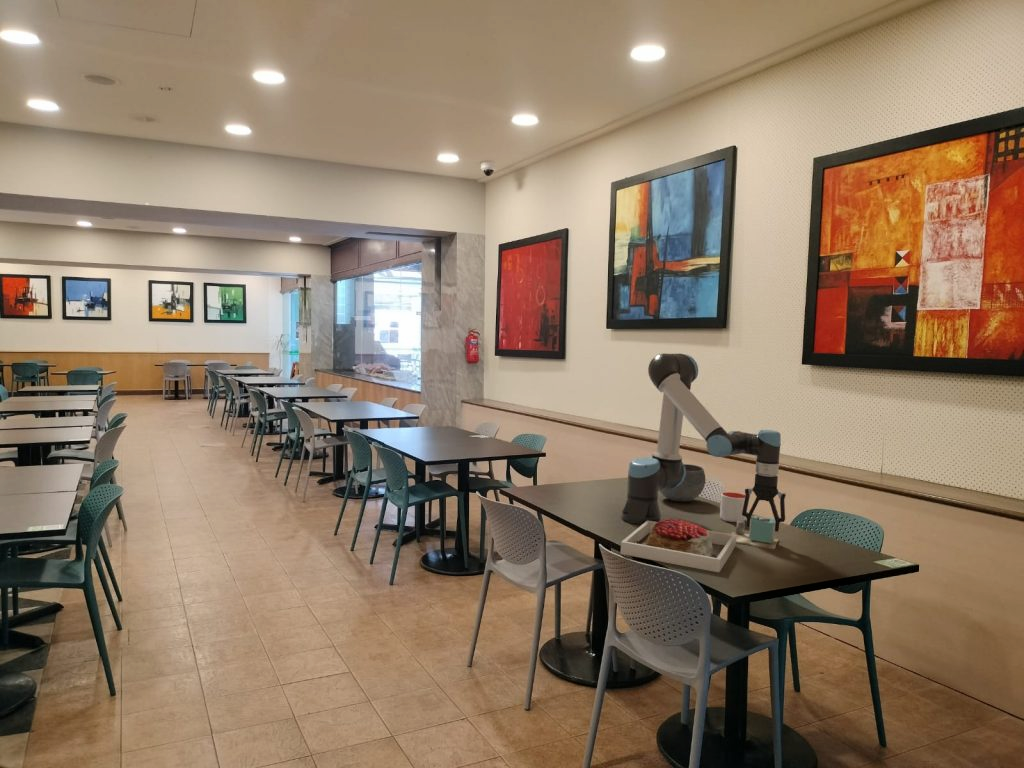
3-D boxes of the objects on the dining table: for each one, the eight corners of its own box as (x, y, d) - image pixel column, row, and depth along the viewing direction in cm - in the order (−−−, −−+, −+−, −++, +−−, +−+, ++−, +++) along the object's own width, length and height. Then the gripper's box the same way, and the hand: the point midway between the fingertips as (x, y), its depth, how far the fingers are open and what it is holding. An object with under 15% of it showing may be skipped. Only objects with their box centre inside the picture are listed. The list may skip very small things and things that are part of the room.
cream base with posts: (726, 541, 250) (728, 517, 249) (732, 533, 260) (733, 510, 260) (774, 549, 243) (776, 525, 242) (778, 540, 253) (780, 517, 253)
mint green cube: (749, 539, 249) (751, 520, 248) (752, 534, 255) (754, 515, 254) (770, 543, 245) (772, 523, 245) (773, 538, 252) (774, 519, 251)
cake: (628, 542, 244) (630, 513, 243) (695, 542, 248) (697, 514, 247) (651, 564, 221) (653, 533, 221) (724, 564, 225) (727, 533, 224)
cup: (747, 524, 274) (749, 499, 273) (720, 522, 276) (722, 496, 275) (744, 518, 284) (746, 493, 283) (718, 515, 285) (720, 491, 285)
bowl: (709, 499, 312) (712, 466, 311) (694, 509, 294) (697, 473, 293) (664, 492, 323) (666, 459, 322) (647, 500, 306) (649, 466, 304)
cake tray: (620, 553, 230) (621, 541, 230) (646, 531, 258) (647, 520, 258) (719, 572, 216) (720, 559, 216) (735, 546, 244) (736, 535, 244)
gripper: (735, 472, 249) (731, 535, 251) (796, 480, 241) (790, 545, 242) (739, 468, 256) (734, 530, 258) (797, 476, 247) (792, 540, 249)
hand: (761, 538), depth 250 cm, fingers closed on mint green cube, 7 cm apart
